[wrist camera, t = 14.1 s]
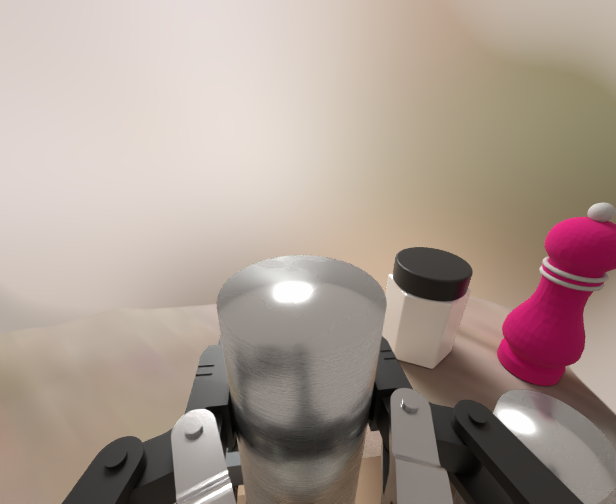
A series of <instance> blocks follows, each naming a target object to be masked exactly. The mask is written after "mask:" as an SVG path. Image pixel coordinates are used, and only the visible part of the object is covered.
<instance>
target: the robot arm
mask: <svg viewBox="0 0 616 504" xmlns="http://www.w3.org/2000/svg"><path fill="white" fill-rule="evenodd" d="M368 424H369V427H370V430H371V431H377V430H379V431H380V434H381V437H382V442H381V504H453V499H452V494H451V489H450V483H449V480H450V481H451V483H452V484H453V486H454V487H455V488H456V490H457V491H458V493H459V494H460V495H461V497H462V498H463V500H464V501H465V502H466V504H584V503H583V502H582V501H581V500H580V499H579V498H578V497H577V496H576V495H575V494H574V493H573V492H572V491H571V490H570V489H569V488H568V487H567V486H566V485H565V484H564V483H563V482H562V481H561V480H560V479H559V478H558V477H557V476H556V475H555V474H554V473H553V472H552V471H551V470H550V469H549V468H548V467H546V466H545V465H544V464H543V463H542V462H541V461H540V460H539V459H538V458H537V457H536V456H535V455H534V454H533V453H532V452H531V451H530V450H529V449H528V448H527V447H526V446H525V445H524V444H523V443H522V442H521V441H520V440H519V439H518V438H517V437H516V436H515V435H514V434H513V433H512V432H511V431H510V430H509V429H508V428H507V427H506V426H505V425H504V424H503V423H502V422H501V421H500V420H499V419H498V418H497V417H496V416H495V415H494V414H493V413H492V412H491V411H490V410H489V409H488V408H486V407H485V406H483V405H482V404H480V403H477V402H475V401H471V400H462V401H459V402H458V403H457V404H456V405H455V408H451V407H446V406H441V405H436V404H432V403H430V402H428V401H427V400H426V399H425V397H424V396H423V395H421V394H420V393H419V392H417V391H415V390H413V388H412V387H411V385H410V383H409V381H408V379H407V377H406V375H405V373H404V371H403V369H402V368H401V366H400V364H399V362H398V360H397V359H396V356H395V354H394V352H392V349H391V347H390V345H389V343H388V341H387V340H386V339H385V338H384V337H383V336H382V338H381V344H380V350H379V356H378V362H377V369H376V375H375V381H374V387H373V393H372V399H371V406H370V412H369V418H368ZM235 436H236V430H235V423H234V417H233V410H232V403H231V397H230V390H229V384H228V377H227V371H226V364H225V358H224V351H223V345H222V338H221V335H220V340H219V344H218V345H212V346H208V347H207V349H206V350H205V351H204V352H203V354H202V355H201V358H200V361H199V365H198V368H197V372H196V377H195V379H194V383H193V387H192V390H191V394H190V397H189V401H188V405H187V408H186V411H185V414H184V415H183V416H182V417H181V418H180V419H179V420H178V421H177V422H176V424H175V425H174V427H173V428H172V429H171V430H169V431H168V432H166V433H164V434H162V435H160V436H157V437H155V438H152V439H150V440H148V441H145V442H143V443H142V442H141V440H140V439H138V438H136V437H133V436H127V437H122V438H119V439H117V440H115V441H113V442H111V443H110V444H108V445H107V446H106V447H104V448H103V449H102V450H101V451H100V452H99V453H98V455H97V456H96V457H95V459H94V460H93V461H92V463H91V464H90V465H89V467H88V468H87V470H86V471H85V472H84V474H83V475H82V477H81V478H80V479H79V481H78V482H77V483H76V485H75V486H74V488H73V489H72V490H71V492H70V493H69V495H68V496H67V497H66V499H65V500H64V501H63V503H62V504H173V503H175V502H176V504H236V501H235V497H234V493H233V488H232V484H231V480H230V477H229V474H228V470H227V466H226V462H225V459H226V451H227V448H230V447H234V446H235Z"/></svg>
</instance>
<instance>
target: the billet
mask: <svg viewBox="0 0 616 504" xmlns="http://www.w3.org/2000/svg"><path fill="white" fill-rule="evenodd" d="M386 307H387V302H386V296H385V293H384V292H383V289H382V288H381V286H380V285H379V283H378V282H377V281H376V280H375V279H374V278H373V277H372V276H371V275H369V274H368V273H367V272H365V271H363V270H362V269H360V268H358V267H356V266H354V265H352V264H349V263H346V262H343V261H340V260H336V259H332V258H328V257H321V256H311V255H293V256H282V257H276V258H271V259H267V260H264V261H260V262H257V263H255V264H252V265H250V266H248V267H246V268H244V269H242V270H240V271H239V272H237V273H235V274H234V275H233V276H232V277H231V278H229V279H228V280H227V281H226V283H225V284H224V285H223V287H222V288H221V290H220V292H219V294H218V298H217V312H218V318H219V325H220V331H221V338H222V345H223V351H224V358H225V364H226V371H227V377H228V384H229V390H230V397H231V403H232V410H233V417H234V423H235V430H236V436H237V443H238V449H239V456H240V462H241V469H242V476H243V482H244V489H245V495H246V502H247V504H355V498H356V492H357V486H358V480H359V473H360V467H361V461H362V455H363V449H364V443H365V436H366V430H367V424H368V418H369V412H370V406H371V399H372V393H373V387H374V381H375V375H376V369H377V362H378V356H379V350H380V344H381V338H382V332H383V325H384V319H385V313H386Z"/></svg>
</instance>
